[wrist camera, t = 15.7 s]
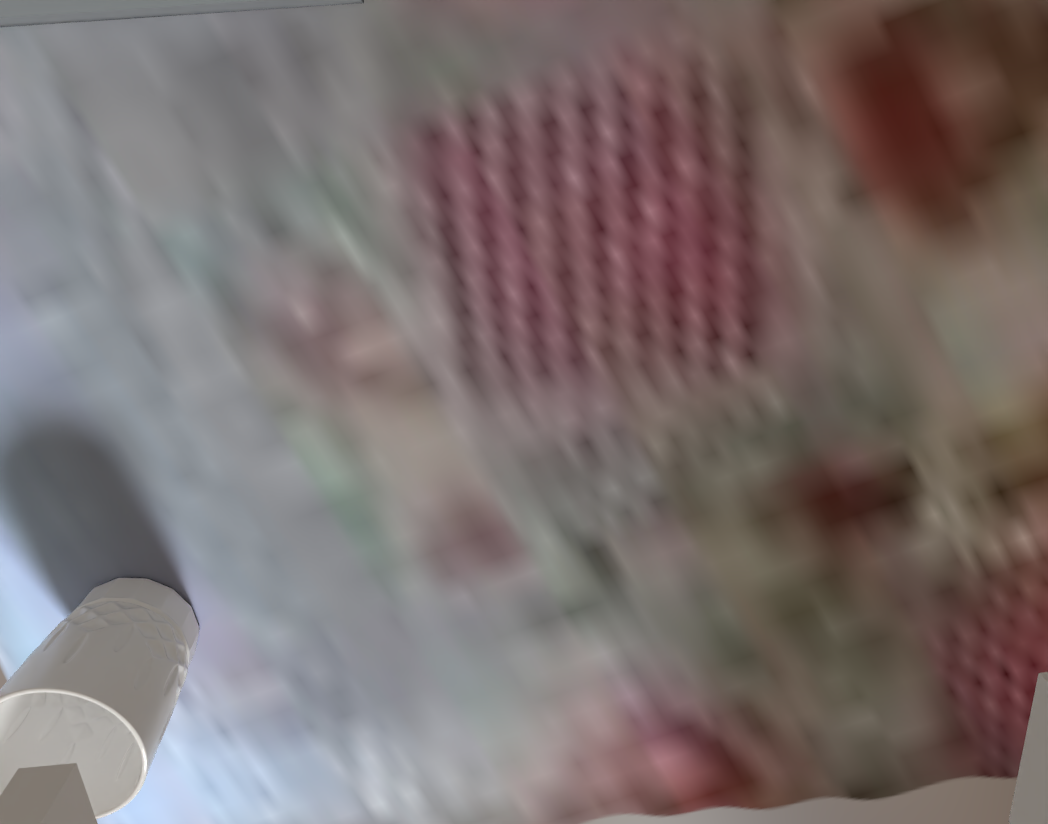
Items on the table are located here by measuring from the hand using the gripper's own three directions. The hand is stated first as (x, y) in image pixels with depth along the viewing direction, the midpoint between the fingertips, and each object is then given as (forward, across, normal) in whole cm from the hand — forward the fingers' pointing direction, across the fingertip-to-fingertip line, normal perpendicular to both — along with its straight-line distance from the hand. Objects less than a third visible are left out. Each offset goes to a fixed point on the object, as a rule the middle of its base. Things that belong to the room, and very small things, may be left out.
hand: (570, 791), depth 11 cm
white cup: (+32, -22, -18) cm, 43 cm away
